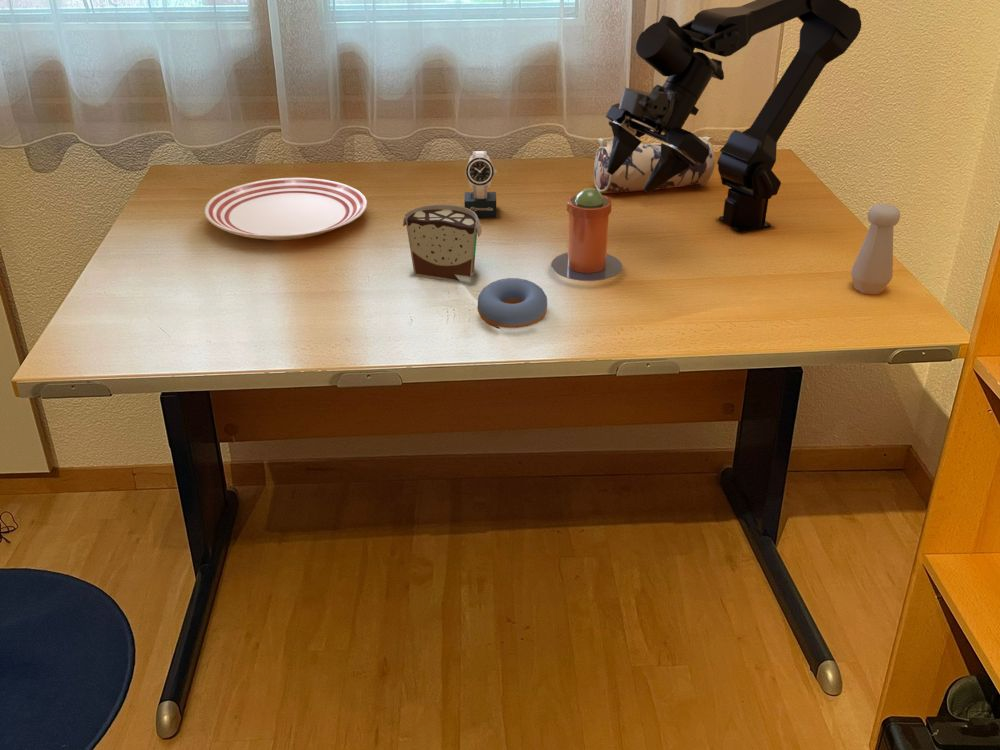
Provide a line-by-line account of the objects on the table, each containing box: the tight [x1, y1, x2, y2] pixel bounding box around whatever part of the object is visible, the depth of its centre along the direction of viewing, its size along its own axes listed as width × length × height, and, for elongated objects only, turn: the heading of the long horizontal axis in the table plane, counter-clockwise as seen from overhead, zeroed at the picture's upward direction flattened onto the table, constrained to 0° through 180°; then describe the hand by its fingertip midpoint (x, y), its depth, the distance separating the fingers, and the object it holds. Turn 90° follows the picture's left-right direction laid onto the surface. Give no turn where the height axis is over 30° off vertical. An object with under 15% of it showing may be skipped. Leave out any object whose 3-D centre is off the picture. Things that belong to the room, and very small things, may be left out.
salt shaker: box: [850, 203, 901, 295], centre depth 144 cm, size 6×6×13 cm
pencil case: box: [593, 136, 716, 194], centre depth 181 cm, size 22×8×10 cm, turn 101°
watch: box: [464, 150, 498, 219], centre depth 170 cm, size 6×8×11 cm
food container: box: [402, 203, 482, 283], centre depth 151 cm, size 12×6×10 cm, turn 71°
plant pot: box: [566, 187, 613, 273], centre depth 149 cm, size 7×7×12 cm
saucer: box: [550, 251, 623, 282], centre depth 153 cm, size 11×11×1 cm
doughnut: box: [476, 277, 548, 330], centre depth 139 cm, size 10×10×5 cm
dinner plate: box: [204, 177, 368, 241], centre depth 170 cm, size 27×27×3 cm
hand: (627, 182), depth 151 cm, fingers open, 9 cm apart
